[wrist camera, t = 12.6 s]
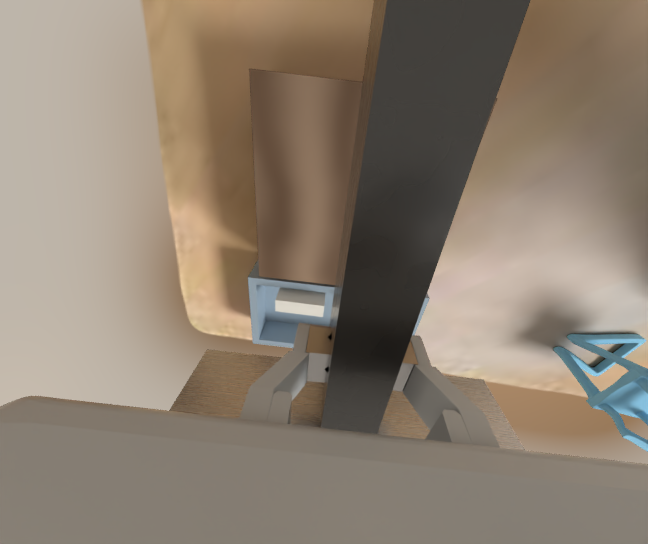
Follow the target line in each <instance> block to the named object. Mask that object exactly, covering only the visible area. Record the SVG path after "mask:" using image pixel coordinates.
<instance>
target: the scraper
mask: <svg viewBox="0 0 648 544" xmlns="http://www.w3.org/2000/svg"><path fill="white" fill-rule="evenodd" d="M529 3H530V0H374V3H373V11H372V18H371V25H370V33H369V40H368V47H367V55H366V62H365V69H364V77H363V84H362V91H361V99H360V106H359V113H358V120H357V128H356V135H355V142H354V150H353V157H352V164H351V172H350V179H349V186H348V194H347V201H346V208H345V216H344V223H343V230H342V238H341V245H340V252H339V259H338V267H337V274H336V281H335V289H334V296H333V303H332V311H331V318H330V325H329V327H332V332H331V340H330V341H331V353H330V361H329V366H328V373H327V380H326V383H324V382H312V381H307V383H306V384H305V385H304V387H303V388H302V389H301V390H300V392H299V393H298V394H297V395H296V397H295V398H294V399H293V401H292V406H291V425H300V426H309V427H318V428H327V429H336V430H345V431H354V432H363V433H372V434H381V435H390V436H399V437H408V438H417V439H425V438H426V437H427V435H428V433H429V432H430V430H429V429H428V427H427V426H426V424H425V423H424V422H423V420H422V419H421V417H420V416H419V415H418V413H417V412H416V411H415V409H414V408H413V406H412V405H411V404H410V402H409V401H408V399H407V398H406V397H405V395H404V394H403V392H401V391H394V390H393V388H394V385H395V382H396V379H397V376H398V373H399V371H400V368H401V365H402V362H403V359H404V356H405V354H406V351H407V348H408V345H409V342H410V339H411V337H412V334H413V331H414V328H415V325H416V322H417V320H418V317H419V314H420V311H421V308H422V305H423V303H424V300H425V297H426V294H427V291H428V289H429V286H430V283H431V280H432V277H433V274H434V272H435V269H436V266H437V263H438V260H439V257H440V255H441V252H442V249H443V246H444V243H445V240H446V238H447V235H448V232H449V229H450V226H451V223H452V221H453V218H454V215H455V212H456V209H457V206H458V204H459V201H460V198H461V195H462V192H463V189H464V187H465V184H466V181H467V178H468V175H469V173H470V170H471V167H472V164H473V161H474V158H475V156H476V153H477V150H478V147H479V144H480V141H481V139H482V136H483V133H484V130H485V127H486V124H487V122H488V119H489V116H490V113H491V110H492V107H493V105H494V102H495V99H496V96H497V93H498V90H499V88H500V85H501V82H502V79H503V76H504V73H505V71H506V68H507V65H508V62H509V59H510V57H511V54H512V51H513V48H514V45H515V42H516V40H517V37H518V34H519V31H520V28H521V25H522V23H523V20H524V17H525V14H526V11H527V8H528V6H529ZM281 358H282V357H272V356H263V355H254V354H245V353H236V352H227V351H218V350H209V349H207V350H206V352H205V354H204V355H203V357H202V359H201V360H200V362H199V363H198V365H197V367H196V368H195V370H194V371H193V373H192V375H191V376H190V378H189V380H188V381H187V383H186V385H185V386H184V388H183V389H182V391H181V392H180V394H179V396H178V397H177V399H176V401H175V402H174V404H173V405H172V407H171V409H170V410H169V411H175V412H184V413H193V414H201V415H210V416H219V417H228V418H237V419H239V417H240V414H241V411H242V408H243V405H244V402H245V399H246V396H247V394H248V391H249V388H250V386H251V385H252V384H253V383H254V382H255V381H257V380H258V379H259V378H260V377H261V376H262V375H263V374H264V373H265V372H267V371H268V370H269V369H270V368H271V367H272V366H273V365H274V364H275V363H276V362H278V361H279V360H280V359H281ZM444 376H445V375H444ZM445 377H446V378H447V379H448V380H449V381H450V382H452V383H453V384H454V385H455V386H456V387H457V388H458V389H459V390H460V391H461V392H462V393H463V394H464V395H465V396H466V397H467V398H469V399H470V400H471V401H472V402H473V403H474V404H475V405H476V406H477V407H478V408H479V409H480V410H481V411H482V412H483V413H484V414H485V416H486V419H487V421H488V423H489V425H490V427H491V429H492V431H493V433H494V435H495V437H496V440H497V442H498V444H499V446H500V448H507V449H516V450H525V449H524V448H523V446H522V444H521V442H520V441H519V439H518V437H517V436H516V434H515V432H514V431H513V429H512V427H511V426H510V424H509V422H508V420H507V419H506V417H505V415H504V414H503V412H502V410H501V409H500V407H499V405H498V404H497V402H496V400H495V399H494V397H493V395H492V393H491V392H490V390H489V388H488V387H487V385H486V383H485V381H484V380H482V379H473V378H464V377H455V376H445Z"/></svg>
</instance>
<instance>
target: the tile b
mask: <svg viewBox="0 0 648 544" xmlns="http://www.w3.org/2000/svg"><path fill="white" fill-rule="evenodd" d="M325 294H326V293H325V292H316V291H307V290H299V289H290V288H282V287H280V288H279V291H278V294H277V297H276V300H275V311H278V312H286V313H294V314H302V315H310V316H318V317H323V313H324V305H325Z"/></svg>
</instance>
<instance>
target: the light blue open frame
mask: <svg viewBox="0 0 648 544" xmlns="http://www.w3.org/2000/svg"><path fill="white" fill-rule="evenodd" d="M567 338H568V339H569V340H570V341H571V342H573V343H574V344H575V345H578V346H580V347H582V348H584V349H587V350H589V351H591V352H593V353H596V354H598V355H600V356H602V357H604V358H606V359H605V360H603V361H602V362H601V363H599V364H598V365H597V366H595V367H594V368H592V367H590V366H589V365H587V364H586V363H585V362H584V361H582V360H581V359H580V358H578V357H577V356H576V355H574V354H573V353H571V352H570V351H568V350H566V349H565V348H562V347H555V348H554V349H553V350H554V351H555V352H556V353H557V354H558V355H559V356H560V358H561V359H562V360H563V361H564V363H565V364H566V365H567V367H568V368H569V369H570V371H571V372H572V373H573V375H574V376H575V378H576V379H577V380H578V382H579V383H580V385H581V386H582V387H583V389H584V390H585V392H586V393H587V395H588V398H589V399H588V400H586V401H587V402H588V403H589V405H590V406H591V407H592V408H595V409H600V410H604V411H605V412H607V413H608V414H609V415H610V416H611V417H612V419H613V420H614V422H615V424H616V426H617V429H618V430H619V432H620V434H621V435H622V437H623V438H626V439H628V440H630V441H631V442H633V443H635V444H636V445H638V446H639V447H641V448H642V449H644V450H646V451H647V452H648V440H646V439H644V438H642V437H640V436H638V435H636V434H635V433H633V432H631V431H630V430H628V429H627V428H625V426H624V423H623V420H622V418H621V416H620V415H619V413H621V414H625V415H628V416H633V417H637V418H640V419H641V420H643V421H644V422H645V423H646V424H647V425H648V369H647V368H645V367H642V366H640V365H638V364H635V363H633V362H631V361H629V360H626V359H624V357H625V356H627V355H628V354H629V353H631V352H632V351H633V350H635V349H636V348H638V347H639V346H640V345H642V344H643V343H644V342H645V341H646V340H645V339H644V338H643V337H641V336H640V335H638V334H591V335H587V334H570V335H568V336H567ZM620 343H626V344H624V345H623V346H622V347H620V348H619V349H618V350H616V351H615V352H614V353H611V352H608V351H606V350H604V349H602V348H600V347H597V346H595V345H593V344H620ZM616 363H617V364H619V365H621V366H623V367H625V368H626V369H627V370H629V372H627V373H626V374H624V375H623V376H622V377H621V378H620V379H619V380H618V381H617V382H615V383H614V384H613V385H611V386H610V387H608V388H607V389H606V390H604V391H602V392H600V391H599V390H598V389H597V387H596V386H595V385H594V384H593V383H592V382H591V381H590V379H589V378H588V377H587V376H586V375H585V373H584V372H583V371H582V369H583V370H584V371H586V372H587V373H589V374H591V375H593V376H599V375H601V374H602V373H603V372H605V371H606V370H608V369H609V368H610V367H612V366H613V365H614V364H616Z"/></svg>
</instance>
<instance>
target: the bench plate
mask: <svg viewBox="0 0 648 544" xmlns="http://www.w3.org/2000/svg"><path fill="white" fill-rule="evenodd" d="M249 72H250V93H251V114H252V135H253V156H254V177H255V199H256V220H257V241H258V262H259V276H261V277H269V278H278V279H287V280H295V281H304V282H312V283H321V284H329V285H335V281H336V274H337V267H338V259H339V252H340V245H341V238H342V230H343V223H344V216H345V208H346V201H347V194H348V186H349V179H350V172H351V164H352V157H353V150H354V142H355V135H356V128H357V120H358V113H359V106H360V99H361V91H362V84H363V82H356V81H348V80H339V79H331V78H323V77H314V76H306V75H298V74H289V73H281V72H272V71H264V70H256V69H249ZM496 101H497V98H496V99H495V102H494V105H493V107H492V110H491V113H492V111H493V108H494V106H495V103H496ZM491 113H490V116H491ZM490 116H489V119H490ZM489 119H488V121H489ZM487 124H488V122H487ZM487 124H486V126H487ZM485 129H486V127H485ZM484 131H485V130H484ZM483 134H484V133H483ZM482 137H483V136H482ZM480 142H481V141H480Z"/></svg>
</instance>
